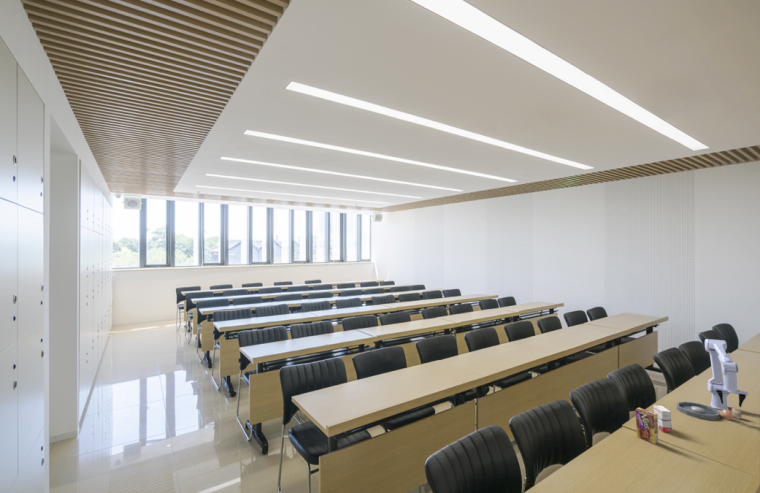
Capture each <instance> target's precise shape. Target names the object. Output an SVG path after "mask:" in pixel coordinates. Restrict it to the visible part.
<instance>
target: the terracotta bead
mask: <svg viewBox="0 0 760 493" xmlns="http://www.w3.org/2000/svg"><path fill="white" fill-rule="evenodd" d="M722 418H723V419H724V420H726V421H731V422H732V421H733V418H732V410H726V409H723V410H722Z"/></svg>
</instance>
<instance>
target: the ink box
mask: <svg viewBox="0 0 760 493" xmlns="http://www.w3.org/2000/svg"><path fill="white" fill-rule="evenodd" d="M653 412H654V413H657V415H658V430H660V431H662V432H663V433H673V431H672V429H673V428H672V411H670V410H669V409H668V408H666V407H664V406H663V405H658V404H657V405H653Z"/></svg>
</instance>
